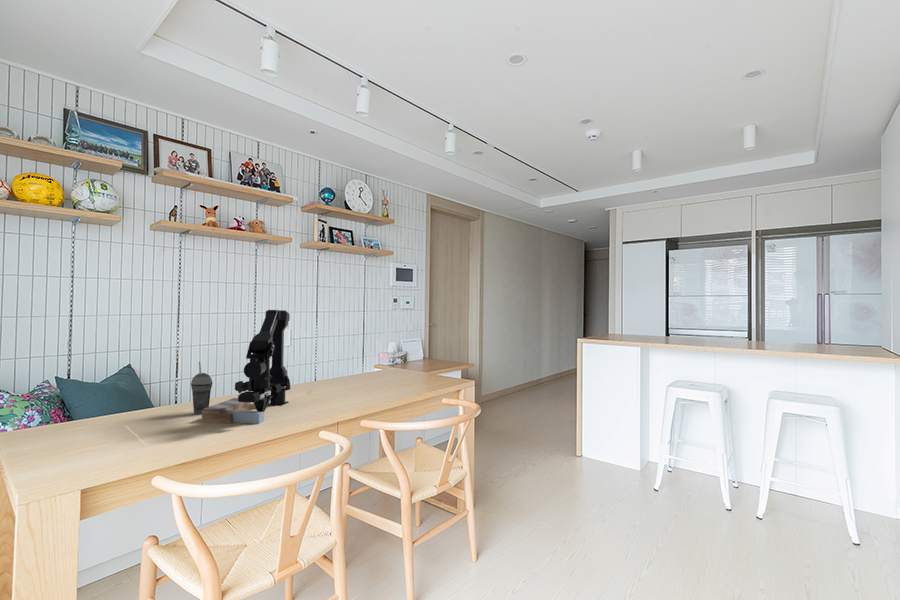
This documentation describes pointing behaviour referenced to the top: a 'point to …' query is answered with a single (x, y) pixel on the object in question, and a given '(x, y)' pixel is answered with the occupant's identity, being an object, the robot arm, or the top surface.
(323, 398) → the top surface
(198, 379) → the beverage cup
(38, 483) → the top surface
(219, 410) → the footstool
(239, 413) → the bar
